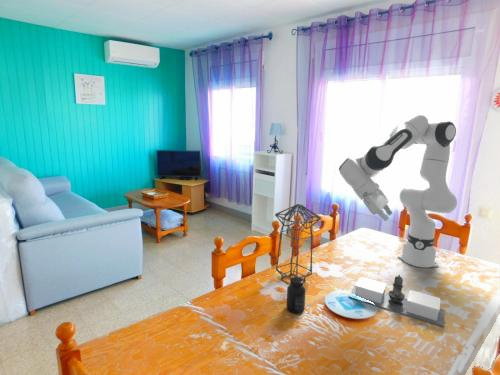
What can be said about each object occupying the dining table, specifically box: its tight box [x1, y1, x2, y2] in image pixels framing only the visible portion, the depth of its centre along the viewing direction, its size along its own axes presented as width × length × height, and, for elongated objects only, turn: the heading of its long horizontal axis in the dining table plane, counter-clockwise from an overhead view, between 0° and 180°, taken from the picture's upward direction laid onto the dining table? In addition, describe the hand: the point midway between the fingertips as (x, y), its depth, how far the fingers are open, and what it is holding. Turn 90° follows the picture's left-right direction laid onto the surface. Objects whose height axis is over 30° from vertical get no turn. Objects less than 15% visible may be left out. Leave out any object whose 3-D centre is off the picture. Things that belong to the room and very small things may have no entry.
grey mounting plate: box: [350, 276, 445, 328], centre depth 123 cm, size 12×33×5 cm, turn 58°
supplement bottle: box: [286, 276, 307, 315], centre depth 117 cm, size 7×7×12 cm
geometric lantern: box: [274, 203, 323, 285], centre depth 137 cm, size 16×16×35 cm
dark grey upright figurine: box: [388, 274, 406, 307], centre depth 122 cm, size 6×6×12 cm
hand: (389, 217), depth 131 cm, fingers open, 8 cm apart
